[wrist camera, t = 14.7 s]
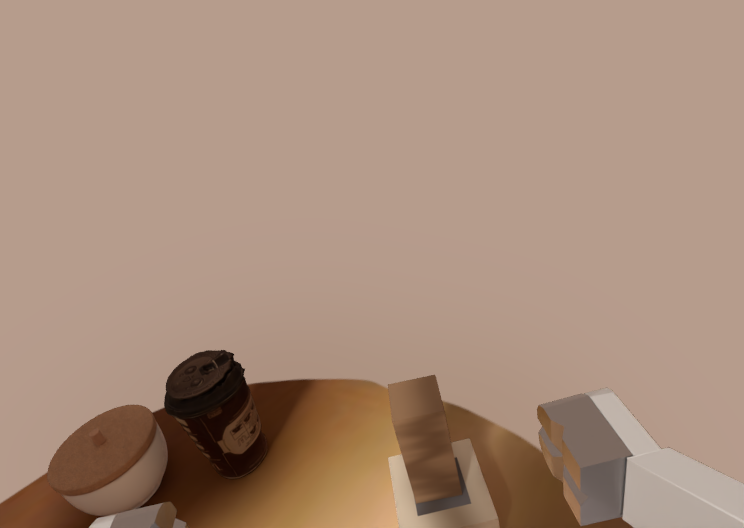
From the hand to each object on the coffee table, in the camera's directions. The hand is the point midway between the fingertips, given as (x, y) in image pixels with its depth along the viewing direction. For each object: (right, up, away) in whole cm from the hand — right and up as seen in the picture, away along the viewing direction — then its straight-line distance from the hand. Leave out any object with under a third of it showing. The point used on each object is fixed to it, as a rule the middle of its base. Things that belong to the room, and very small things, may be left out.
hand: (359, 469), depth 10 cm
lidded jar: (-27, -21, +42) cm, 54 cm away
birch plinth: (+7, -18, +32) cm, 37 cm away
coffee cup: (-14, -18, +43) cm, 48 cm away
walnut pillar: (+6, -15, +31) cm, 34 cm away
